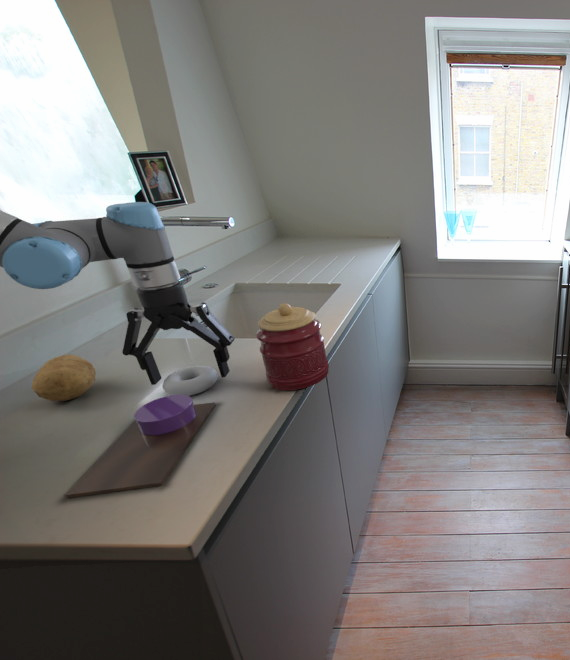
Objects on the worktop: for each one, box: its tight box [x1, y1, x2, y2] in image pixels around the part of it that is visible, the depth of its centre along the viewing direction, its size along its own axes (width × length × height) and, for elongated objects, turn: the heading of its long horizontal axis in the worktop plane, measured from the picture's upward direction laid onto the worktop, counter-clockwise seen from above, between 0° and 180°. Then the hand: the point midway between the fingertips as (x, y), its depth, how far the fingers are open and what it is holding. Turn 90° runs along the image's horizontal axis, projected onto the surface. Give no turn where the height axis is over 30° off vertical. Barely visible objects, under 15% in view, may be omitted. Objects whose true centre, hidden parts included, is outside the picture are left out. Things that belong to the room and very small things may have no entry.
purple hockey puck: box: [133, 395, 196, 435], centre depth 84 cm, size 9×9×3 cm
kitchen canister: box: [255, 302, 330, 391], centre depth 97 cm, size 13×13×18 cm
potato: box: [31, 354, 97, 402], centre depth 92 cm, size 10×14×8 cm
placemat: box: [65, 402, 217, 499], centre depth 79 cm, size 13×23×1 cm, turn 11°
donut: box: [162, 364, 218, 397], centre depth 96 cm, size 10×4×10 cm
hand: (191, 378), depth 96 cm, fingers open, 13 cm apart
